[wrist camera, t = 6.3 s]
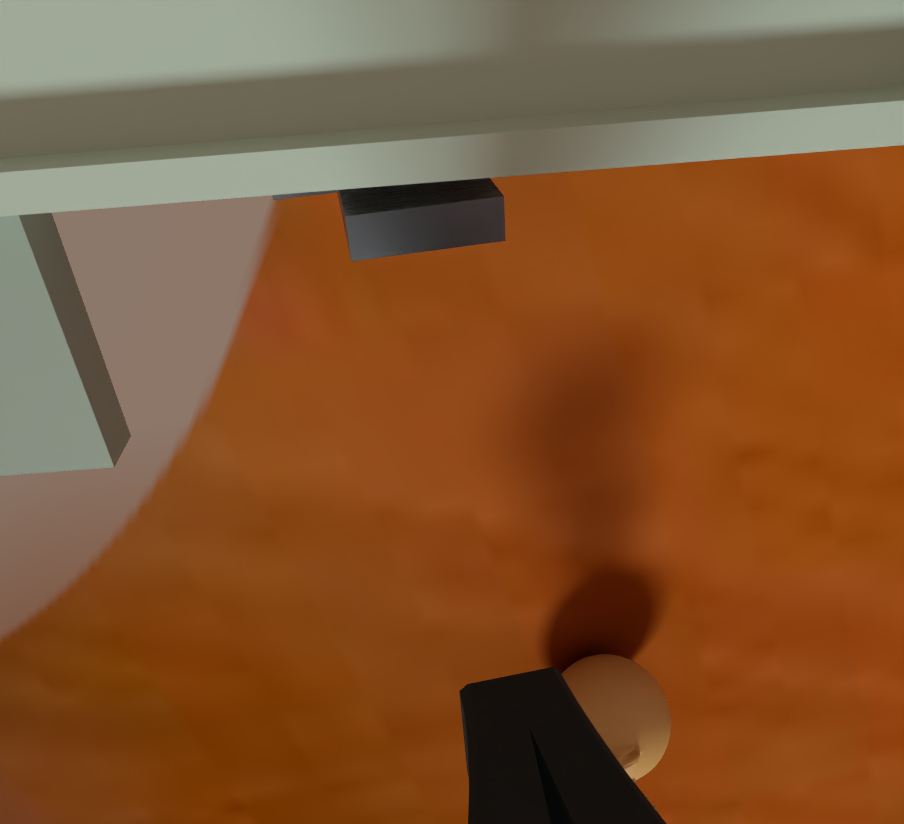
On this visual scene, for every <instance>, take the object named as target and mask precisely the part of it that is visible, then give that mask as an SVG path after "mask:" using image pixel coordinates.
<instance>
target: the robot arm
mask: <svg viewBox="0 0 904 824" xmlns="http://www.w3.org/2000/svg"><path fill="white" fill-rule="evenodd" d="M460 701H461V711H462V721H463V731H464V742H465V752H466V762H467V771H468V776H469V814H468V824H666V823H665V821H664V820H663V819H662V818H661V816H660V815H659V814H658V812H657V811H656V810H655V809H654V807H653V806H652V805H651V803H650V802H649V801H648V800H647V798H646V797H645V796H644V794H643V793H642V792H641V791H640V789H639V788H638V787H637V785H636V784H635V783H634V781H633V780H632V779H631V778H630V776H629V775H628V774H627V772H626V771H625V770H624V768H623V767H622V765H621V764H620V763H619V761H618V760H617V759H616V757H615V756H614V754H613V753H612V752H611V750H610V749H609V747H608V746H607V744H606V743H605V742H604V740H603V739H602V737H601V736H600V734H599V733H598V732H597V730H596V729H595V727H594V726H593V724H592V723H591V721H590V720H589V718H588V717H587V715H586V714H585V712H584V710H583V709H582V707H581V706H580V704H579V703H578V701H577V699H576V698H575V696H574V695H573V693H572V691H571V690H570V688H569V686H568V685H567V683H566V681H565V679H564V678H563V676H562V674H561V672H560V671H558V670H557V669H555V668H553V667H551V668H546V669H541V670H536V671H531V672H526V673H521V674H516V675H511V676H506V677H501V678H496V679H491V680H486V681H481V682H476V683H471V684H467V685H466V686H465V687H464V688H463V689H462V690H460Z"/></svg>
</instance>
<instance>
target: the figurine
mask: <svg viewBox="0 0 904 824" xmlns="http://www.w3.org/2000/svg"><path fill="white" fill-rule="evenodd" d="M562 676H563V678H564V679H565V681H566V683H567V685H568V686H569V688H570V690H571V691H572V693H573V695H574V696H575V698H576V699H577V701H578V703H579V704H580V706H581V707H582V709H583V710H584V712H585V714H586V715H587V717H588V718H589V720H590V721H591V723H592V724H593V726H594V727H595V729H596V730H597V732H598V733H599V734H600V736H601V737H602V739H603V740H604V742H605V743H606V744H607V746H608V747H609V749H610V750H611V752H612V753H613V754H614V756H615V757H616V759H617V760H618V761H619V763H620V764H621V765H622V767H623V768H624V770H625V771H626V772H627V774H628V775H629V776H630V778H631V779H632V780H633V781H634V783H635V781H636V780H637V779H639V778H641V777H642V776H644V775H645V774H647V773H648V772H649V771H651V770H652V769H653V768H654V767H655V766H656V764H657V763H658V762H659V761H660V759H661V758H662V756H663V754H664V752H665V750H666V748H667V745H668V742H669V738H670V732H671V716H670V710H669V706H668V702H667V699H666V697H665V694H664V692H663V690H662V689H661V687H660V685H659V684H658V682H657V681H656V680H655V679H654V677H653V676H652V675H651V674H650V673H649V672H648V671H647V670H646V669H644V668H643V667H642V666H640V665H639V664H637V663H636V662H634V661H632V660H630V659H627V658H625V657H621V656H617V655H611V654H598V655H592V656H588V657H585V658H583V659H580V660H578V661H577V662H575V663H573V664H572V665H571V666H569V667H568V668H567V669H566V670H565V671H564V672H563V673H562ZM647 800H648V801H649V798H648V797H647ZM653 807H654V809H655V810H656V804H655V805H654V806H653Z"/></svg>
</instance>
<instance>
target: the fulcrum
mask: <svg viewBox="0 0 904 824" xmlns="http://www.w3.org/2000/svg"><path fill="white" fill-rule="evenodd" d="M334 192H337V194H338V198H339V203H340V208H341V213H342V218H343V223H344V228H345V232H346V237H347V242H348V247H349V252H350V257H351V261H357V260H365V259H372V258H379V257H387V256H394V255H402V254H409V253H417V252H424V251H432V250H439V249H446V248H454V247H461V246H469V245H476V244H484V243H491V242H499V241H505V216H504V196H503V195H502V193H501V192H500V191H499V189H498V188H497V187H496V186H495V184H494V183H493V182H492V181H491V179H490V178H481V179H468V180H456V181H443V182H431V183H418V184H405V185H393V186H380V187H368V188H355V189H342V190H330V191H317V192H305V193H292V194H279V195H273V200H277V199H285V198H294V197H302V196H310V195H318V194H326V193H334Z"/></svg>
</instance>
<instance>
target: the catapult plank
mask: <svg viewBox="0 0 904 824" xmlns="http://www.w3.org/2000/svg"><path fill="white" fill-rule="evenodd" d="M897 145H904V0H0V476H5V475H19V474H32V473H44V472H57V471H70V470H83V469H96V468H109V467H115V464H116V463H117V461H118V459H119V457H120V455H121V453H122V452H123V450H124V448H125V446H126V444H127V442H128V440H129V438H130V437H131V435H130V433H129V430H128V427H127V424H126V421H125V418H124V416H123V413H122V410H121V407H120V404H119V402H118V399H117V396H116V393H115V390H114V387H113V385H112V382H111V379H110V376H109V373H108V371H107V368H106V365H105V362H104V359H103V356H102V354H101V351H100V348H99V345H98V342H97V340H96V337H95V334H94V331H93V328H92V326H91V323H90V320H89V317H88V314H87V312H86V309H85V306H84V303H83V300H82V298H81V295H80V292H79V289H78V286H77V284H76V281H75V278H74V275H73V272H72V269H71V267H70V264H69V261H68V258H67V256H66V253H65V250H64V247H63V244H62V241H61V238H60V236H59V233H58V230H57V227H56V224H55V222H54V219H53V216H52V213H53V212H65V211H77V210H90V209H102V208H115V207H128V206H141V205H153V204H165V203H179V202H190V201H204V200H216V199H229V198H240V197H241V198H242V197H254V196H267V195H279V194H292V193H305V192H317V191H330V190H342V189H355V188H368V187H380V186H393V185H405V184H418V183H431V182H443V181H456V180H468V179H481V178H494V177H506V176H519V175H531V174H544V173H557V172H569V171H582V170H594V169H607V168H620V167H632V166H645V165H657V164H670V163H683V162H695V161H708V160H720V159H733V158H746V157H758V156H771V155H783V154H796V153H809V152H821V151H834V150H846V149H859V148H872V147H884V146H897Z"/></svg>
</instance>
